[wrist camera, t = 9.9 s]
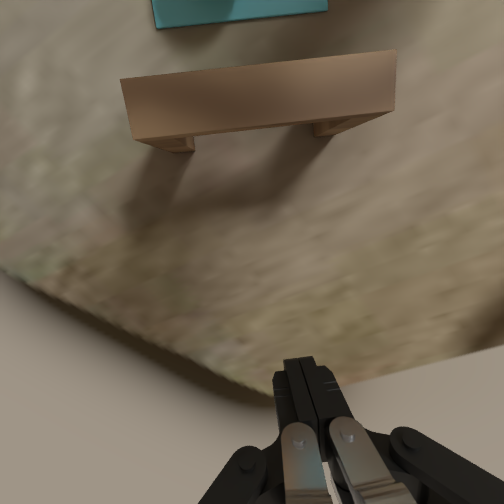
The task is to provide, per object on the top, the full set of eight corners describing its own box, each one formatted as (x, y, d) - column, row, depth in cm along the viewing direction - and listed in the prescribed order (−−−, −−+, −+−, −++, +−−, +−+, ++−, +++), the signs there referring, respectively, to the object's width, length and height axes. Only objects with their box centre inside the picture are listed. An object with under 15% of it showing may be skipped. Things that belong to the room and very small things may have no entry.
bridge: (167, 117, 23) (119, 79, 14) (334, 98, 24) (396, 49, 14) (173, 153, 24) (133, 139, 15) (335, 134, 24) (394, 110, 15)
